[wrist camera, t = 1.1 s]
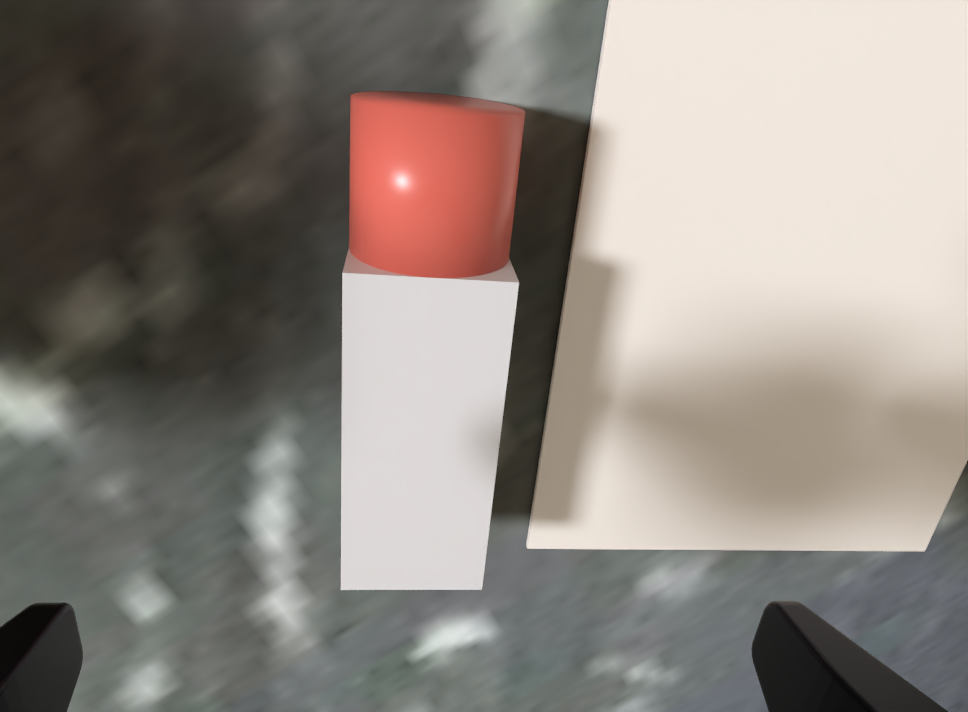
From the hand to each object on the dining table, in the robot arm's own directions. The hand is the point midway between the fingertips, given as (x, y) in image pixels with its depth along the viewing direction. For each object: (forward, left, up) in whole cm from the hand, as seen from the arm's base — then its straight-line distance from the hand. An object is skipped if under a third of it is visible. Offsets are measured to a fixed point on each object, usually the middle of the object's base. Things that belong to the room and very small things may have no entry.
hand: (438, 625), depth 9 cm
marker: (0, 0, -10) cm, 10 cm away
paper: (+2, -10, -10) cm, 14 cm away
